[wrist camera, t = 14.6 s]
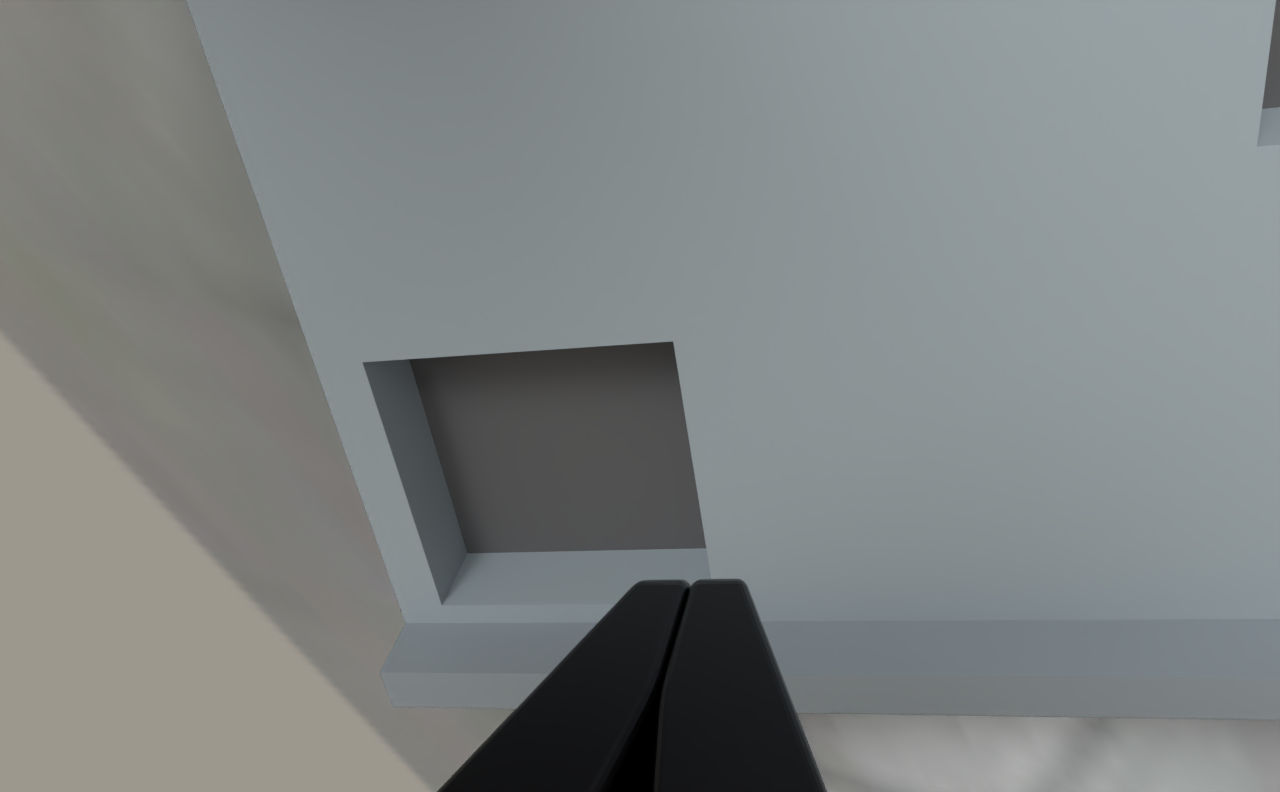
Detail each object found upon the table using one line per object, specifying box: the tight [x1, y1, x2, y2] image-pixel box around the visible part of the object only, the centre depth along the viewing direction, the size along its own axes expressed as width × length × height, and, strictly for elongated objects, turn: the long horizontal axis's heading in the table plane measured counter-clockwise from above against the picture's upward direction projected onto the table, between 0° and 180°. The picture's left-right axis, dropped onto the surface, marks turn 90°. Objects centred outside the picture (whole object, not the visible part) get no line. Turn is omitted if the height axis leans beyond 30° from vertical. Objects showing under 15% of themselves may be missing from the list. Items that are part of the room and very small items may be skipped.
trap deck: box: [186, 0, 1280, 720], centre depth 16 cm, size 18×27×4 cm, turn 99°
